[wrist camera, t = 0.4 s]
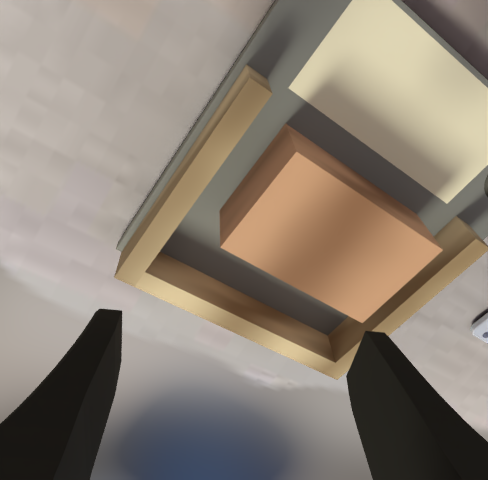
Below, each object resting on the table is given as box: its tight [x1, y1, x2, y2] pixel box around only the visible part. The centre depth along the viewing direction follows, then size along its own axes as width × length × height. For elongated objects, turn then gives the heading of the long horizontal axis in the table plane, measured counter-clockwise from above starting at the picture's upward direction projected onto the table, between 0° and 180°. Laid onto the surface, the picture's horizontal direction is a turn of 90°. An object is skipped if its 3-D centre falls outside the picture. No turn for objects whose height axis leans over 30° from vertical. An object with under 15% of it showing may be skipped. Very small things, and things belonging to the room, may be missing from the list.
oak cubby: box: [114, 64, 488, 380], centre depth 21 cm, size 13×10×2 cm
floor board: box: [116, 0, 488, 336], centre depth 21 cm, size 15×16×1 cm
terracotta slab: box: [219, 123, 443, 323], centre depth 20 cm, size 8×5×3 cm, turn 55°
